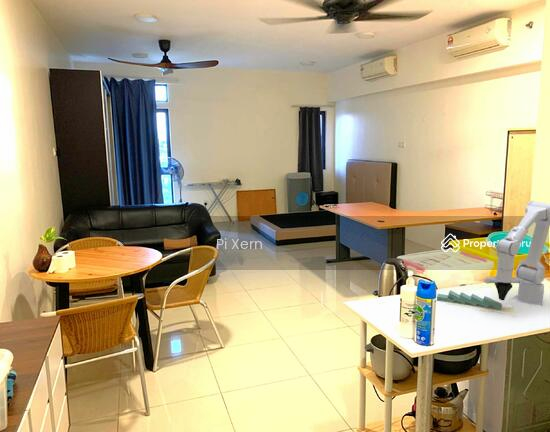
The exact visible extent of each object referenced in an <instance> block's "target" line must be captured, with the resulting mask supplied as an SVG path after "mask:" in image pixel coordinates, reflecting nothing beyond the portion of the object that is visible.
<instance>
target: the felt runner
mask: <svg viewBox="0 0 550 432" xmlns="http://www.w3.org/2000/svg"><path fill="white" fill-rule="evenodd" d="M445 305H451V306H458V307H462V308H469V309H470V308H471V309H475V310H476V309H477V310H482V311H488V312H495V313H501V314H505V315H506V314H507V315H513V316H515V315H516V314H515V310H514V306H511V305H504V304H502V308H501V310H499V309H496V308H494V307H492V306H490V305H489V306H488V307H487V308H486V307H484V306H482V305H480V304H478V303H477V305H476V306H474V305H472V304H470V303H468V302H465V303H464V304H462V303H460V302H458V301H456V300H454V303H451V302H445Z"/></svg>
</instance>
